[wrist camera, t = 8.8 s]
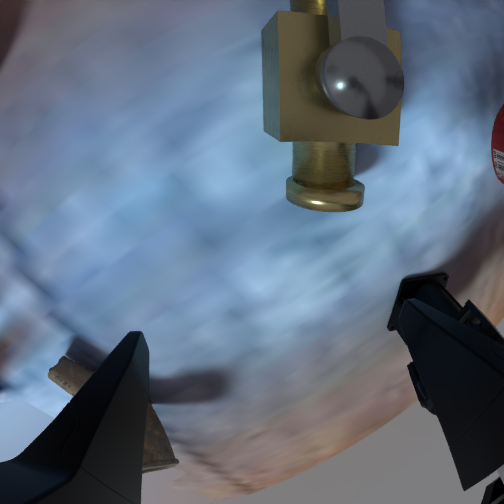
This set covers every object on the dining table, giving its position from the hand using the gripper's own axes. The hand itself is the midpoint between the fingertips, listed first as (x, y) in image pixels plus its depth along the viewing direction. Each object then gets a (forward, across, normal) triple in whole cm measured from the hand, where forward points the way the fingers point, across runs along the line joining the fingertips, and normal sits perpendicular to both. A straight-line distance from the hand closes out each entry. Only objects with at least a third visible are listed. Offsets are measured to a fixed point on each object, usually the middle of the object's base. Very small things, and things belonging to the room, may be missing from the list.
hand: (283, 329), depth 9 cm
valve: (+13, -5, -8) cm, 16 cm away
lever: (+7, -5, -13) cm, 15 cm away
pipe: (+13, +15, +20) cm, 29 cm away
